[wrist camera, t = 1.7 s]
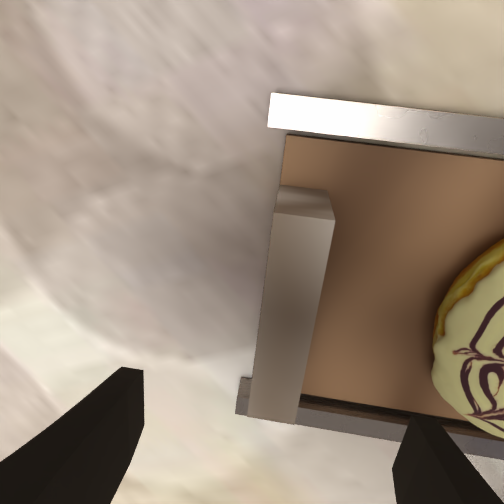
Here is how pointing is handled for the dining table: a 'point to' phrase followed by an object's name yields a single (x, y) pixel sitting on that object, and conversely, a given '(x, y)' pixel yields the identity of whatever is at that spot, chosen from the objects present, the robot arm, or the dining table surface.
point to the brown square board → (366, 271)
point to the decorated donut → (473, 342)
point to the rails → (396, 130)
